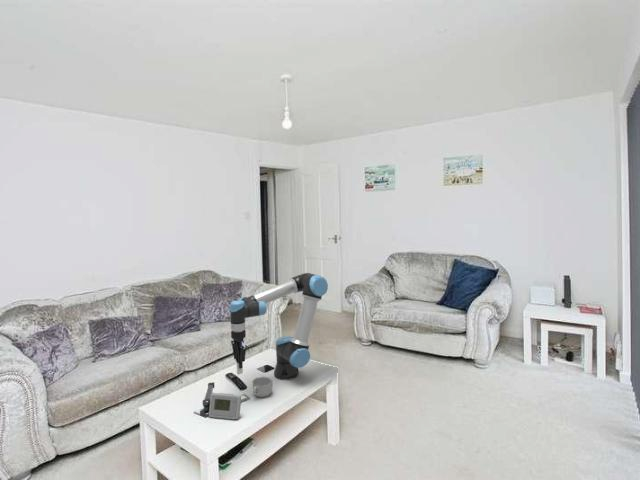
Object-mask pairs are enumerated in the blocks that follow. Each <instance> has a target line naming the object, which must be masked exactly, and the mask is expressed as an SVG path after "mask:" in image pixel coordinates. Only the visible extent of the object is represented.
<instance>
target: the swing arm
mask: <svg viewBox="0 0 640 480" xmlns="http://www.w3.org/2000/svg"><path fill="white" fill-rule="evenodd" d="M214 389H215V382H208V383H207V390H206V394H205V396H204V399H203V400H202V406H203V407H204V406H205V407H206V406H210V399H211V394H212V393H213V391H214Z"/></svg>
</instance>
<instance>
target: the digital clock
mask: <svg viewBox="0 0 640 480" xmlns="http://www.w3.org/2000/svg"><path fill="white" fill-rule="evenodd" d="M241 404H242V402H241V394H234V393H223V392H218V393H217V392H212V394H211V399H210V408H209V416H208V417H209V418H215V419H224V420H231V421H232V420H239V419H240V414H241V406H242V405H241Z"/></svg>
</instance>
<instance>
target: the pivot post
mask: <svg viewBox="0 0 640 480" xmlns="http://www.w3.org/2000/svg"><path fill="white" fill-rule="evenodd" d="M209 408H210V406H206V407H205V406H203V409H201V410H200V411H199V415H200V416H201V417H204V416H206V417H209Z"/></svg>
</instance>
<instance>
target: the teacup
mask: <svg viewBox="0 0 640 480" xmlns="http://www.w3.org/2000/svg"><path fill="white" fill-rule="evenodd" d="M272 389H273V379H272V378H271V377H269V376H259V377H255V378H254V379H253V380H252V394H253V395H255V396H257V397H258V398H265V397H267V396H269V395H270V394H271V393H272Z"/></svg>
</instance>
